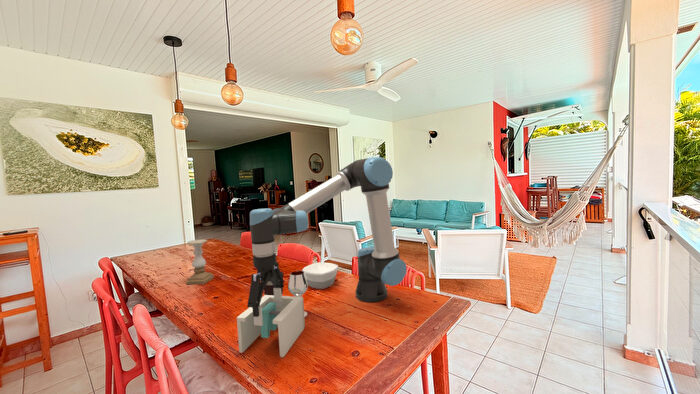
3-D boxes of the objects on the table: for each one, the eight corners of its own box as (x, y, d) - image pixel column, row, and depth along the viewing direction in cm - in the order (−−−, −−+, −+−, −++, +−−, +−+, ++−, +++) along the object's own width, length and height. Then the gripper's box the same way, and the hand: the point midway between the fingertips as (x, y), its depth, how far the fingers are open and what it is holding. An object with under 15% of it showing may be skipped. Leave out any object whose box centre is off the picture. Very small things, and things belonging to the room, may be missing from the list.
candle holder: (204, 284, 158) (201, 242, 156) (185, 285, 158) (182, 243, 157) (214, 277, 169) (211, 238, 167) (196, 278, 169) (193, 239, 168)
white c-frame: (304, 327, 106) (303, 297, 105) (283, 357, 89) (281, 320, 88) (267, 324, 110) (265, 294, 109) (239, 352, 92) (236, 317, 91)
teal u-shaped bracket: (277, 328, 99) (275, 302, 98) (267, 338, 92) (266, 310, 92) (271, 327, 99) (269, 302, 99) (261, 337, 93) (259, 310, 93)
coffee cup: (279, 307, 124) (277, 274, 123) (259, 306, 126) (257, 274, 125) (288, 298, 134) (286, 267, 133) (269, 297, 136) (267, 267, 135)
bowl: (344, 281, 152) (343, 264, 152) (324, 293, 137) (323, 275, 137) (318, 276, 162) (317, 260, 161) (297, 287, 147) (296, 270, 146)
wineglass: (300, 321, 111) (297, 277, 109) (285, 317, 115) (282, 274, 114) (313, 313, 117) (311, 271, 116) (299, 309, 122) (296, 268, 121)
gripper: (272, 245, 107) (276, 298, 109) (231, 265, 83) (237, 333, 84) (290, 245, 106) (294, 299, 107) (253, 266, 81) (259, 335, 83)
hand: (269, 314), depth 96 cm, fingers open, 13 cm apart
